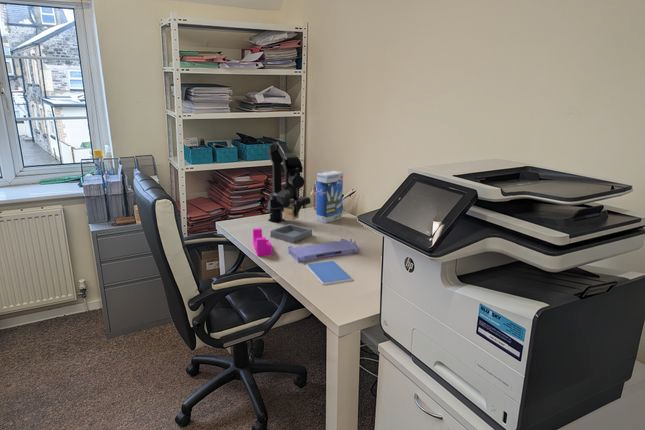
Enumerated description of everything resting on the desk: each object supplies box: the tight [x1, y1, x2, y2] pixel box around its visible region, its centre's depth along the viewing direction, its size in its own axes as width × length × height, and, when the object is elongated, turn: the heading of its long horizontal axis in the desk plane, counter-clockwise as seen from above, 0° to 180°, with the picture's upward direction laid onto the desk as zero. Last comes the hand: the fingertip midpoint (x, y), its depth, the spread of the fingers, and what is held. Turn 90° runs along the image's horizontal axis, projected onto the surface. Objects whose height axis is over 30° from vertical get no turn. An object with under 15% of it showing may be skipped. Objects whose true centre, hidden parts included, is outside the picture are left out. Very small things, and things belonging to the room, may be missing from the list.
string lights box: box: [315, 170, 344, 224], centre depth 231 cm, size 13×8×26 cm, turn 136°
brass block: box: [283, 205, 300, 221], centre depth 204 cm, size 5×5×5 cm
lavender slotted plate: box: [288, 238, 360, 263], centre depth 188 cm, size 30×4×15 cm
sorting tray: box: [270, 223, 313, 244], centre depth 207 cm, size 14×14×3 cm
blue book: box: [305, 260, 354, 286], centre depth 168 cm, size 19×13×1 cm, turn 22°
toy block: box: [252, 227, 273, 257], centre depth 189 cm, size 15×6×8 cm, turn 16°
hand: (291, 215), depth 204 cm, fingers closed on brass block, 5 cm apart
